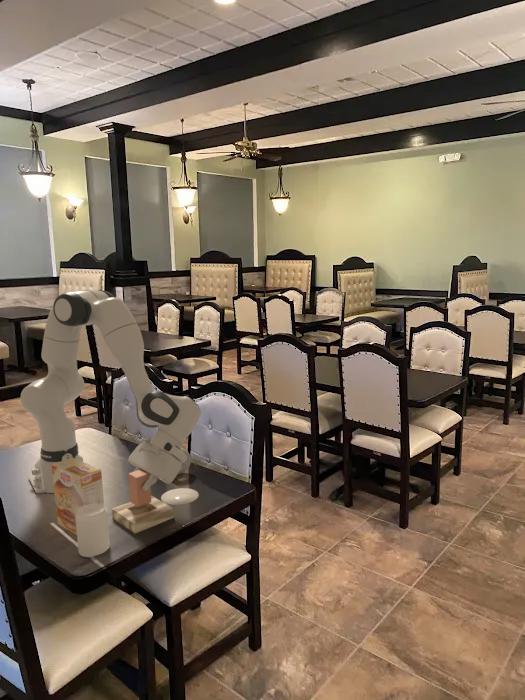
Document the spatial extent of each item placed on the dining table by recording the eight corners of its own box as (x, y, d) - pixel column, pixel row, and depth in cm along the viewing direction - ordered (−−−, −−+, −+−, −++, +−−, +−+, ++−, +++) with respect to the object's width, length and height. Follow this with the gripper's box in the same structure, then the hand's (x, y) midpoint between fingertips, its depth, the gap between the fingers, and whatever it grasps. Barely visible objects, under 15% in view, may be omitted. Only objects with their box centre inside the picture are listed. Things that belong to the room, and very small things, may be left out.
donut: (166, 479, 189) (164, 452, 187) (163, 475, 192) (161, 449, 190) (192, 473, 194) (191, 447, 192) (189, 470, 197) (188, 444, 195)
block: (130, 501, 159) (128, 473, 157) (143, 497, 162) (141, 469, 160) (138, 506, 156) (136, 477, 154) (151, 501, 159) (149, 473, 157)
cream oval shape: (154, 499, 174) (153, 496, 173) (184, 487, 182) (184, 485, 181) (175, 511, 165) (174, 508, 165) (206, 498, 173) (206, 495, 173)
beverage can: (92, 562, 138) (89, 519, 136) (72, 554, 143) (68, 512, 141) (116, 547, 145) (113, 506, 143) (96, 540, 149) (92, 500, 147)
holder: (112, 521, 160) (111, 508, 159) (150, 506, 169) (149, 494, 168) (135, 536, 151) (134, 523, 150) (173, 520, 159) (173, 508, 159)
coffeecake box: (56, 526, 157) (50, 464, 154) (78, 517, 163) (72, 456, 159) (85, 543, 148) (79, 476, 144) (107, 532, 153) (102, 468, 150)
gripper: (139, 432, 168) (113, 471, 163) (177, 449, 153) (149, 492, 148) (152, 442, 171) (127, 480, 167) (190, 460, 157) (163, 501, 152)
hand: (137, 486), depth 157 cm, fingers closed on block, 4 cm apart
